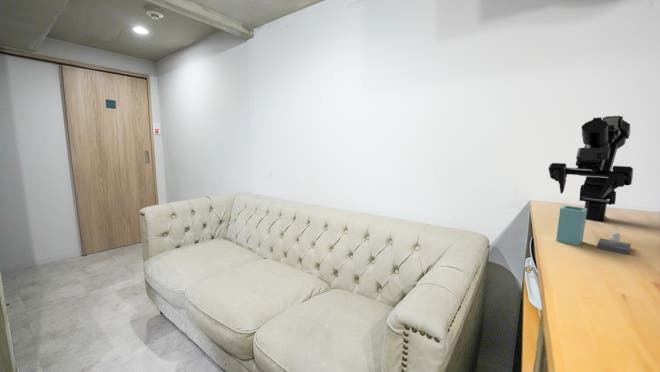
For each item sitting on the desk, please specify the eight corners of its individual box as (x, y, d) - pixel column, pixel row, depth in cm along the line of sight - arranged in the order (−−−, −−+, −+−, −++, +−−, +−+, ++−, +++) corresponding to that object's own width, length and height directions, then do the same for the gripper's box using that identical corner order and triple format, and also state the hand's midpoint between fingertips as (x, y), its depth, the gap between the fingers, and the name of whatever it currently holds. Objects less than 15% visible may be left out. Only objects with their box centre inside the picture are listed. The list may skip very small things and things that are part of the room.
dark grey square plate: (599, 242, 80) (602, 227, 79) (630, 248, 75) (633, 232, 75) (596, 247, 76) (599, 232, 75) (628, 254, 72) (631, 238, 71)
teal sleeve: (560, 236, 85) (565, 205, 83) (582, 241, 81) (587, 208, 79) (556, 240, 82) (560, 208, 80) (578, 245, 78) (583, 211, 76)
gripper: (553, 138, 90) (538, 175, 86) (638, 137, 76) (626, 182, 71) (557, 160, 97) (544, 196, 92) (636, 163, 82) (625, 206, 77)
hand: (580, 194), depth 83 cm, fingers open, 9 cm apart
